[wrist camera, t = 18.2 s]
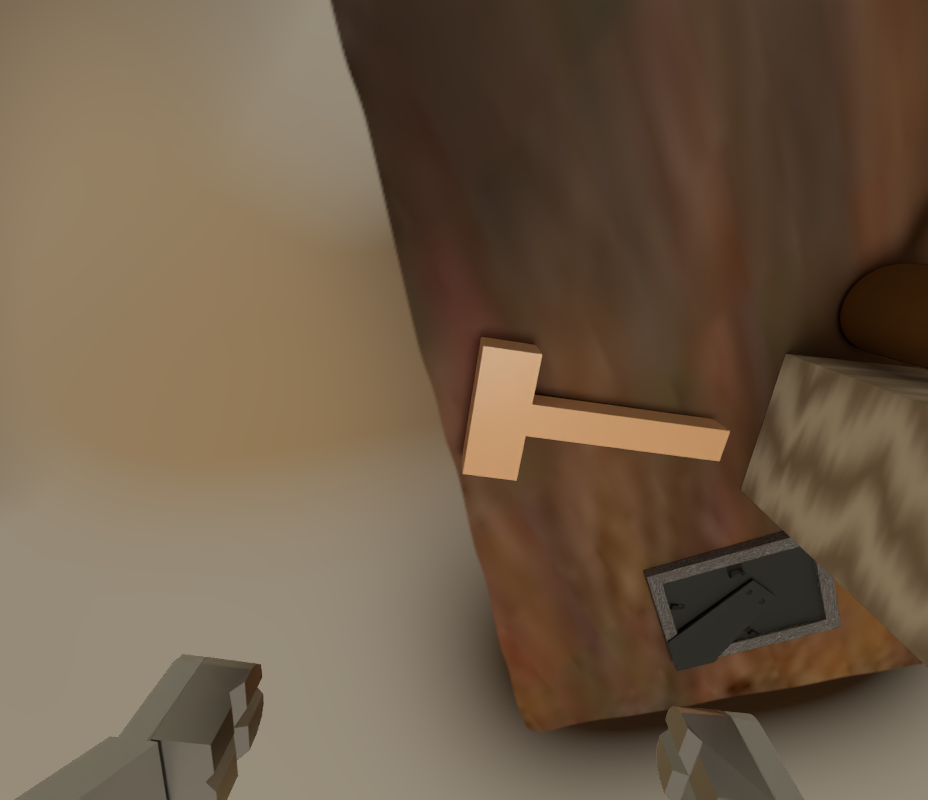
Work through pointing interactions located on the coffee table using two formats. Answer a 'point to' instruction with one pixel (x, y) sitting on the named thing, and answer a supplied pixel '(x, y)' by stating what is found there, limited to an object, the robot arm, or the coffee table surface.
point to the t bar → (563, 418)
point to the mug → (890, 313)
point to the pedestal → (853, 481)
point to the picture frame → (741, 599)
